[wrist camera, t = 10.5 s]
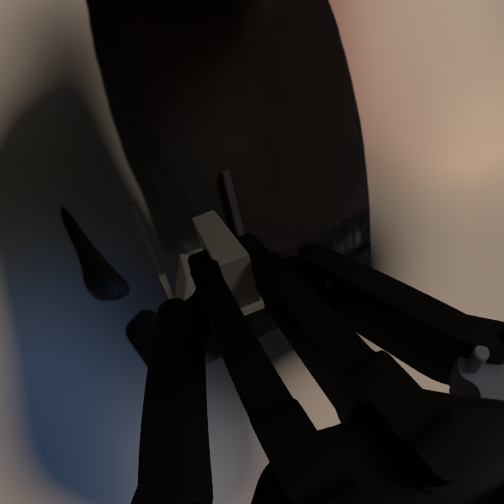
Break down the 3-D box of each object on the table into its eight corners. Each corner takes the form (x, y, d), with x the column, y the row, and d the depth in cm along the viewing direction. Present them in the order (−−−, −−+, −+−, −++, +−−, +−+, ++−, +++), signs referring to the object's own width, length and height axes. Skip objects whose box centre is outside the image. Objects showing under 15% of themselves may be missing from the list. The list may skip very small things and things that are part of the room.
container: (216, 295, 48) (240, 345, 37) (173, 294, 45) (186, 347, 34) (225, 256, 45) (253, 300, 34) (179, 252, 42) (194, 299, 31)
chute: (130, 203, 36) (128, 211, 33) (226, 169, 39) (234, 174, 36) (182, 324, 48) (186, 338, 45) (257, 294, 51) (265, 307, 48)
